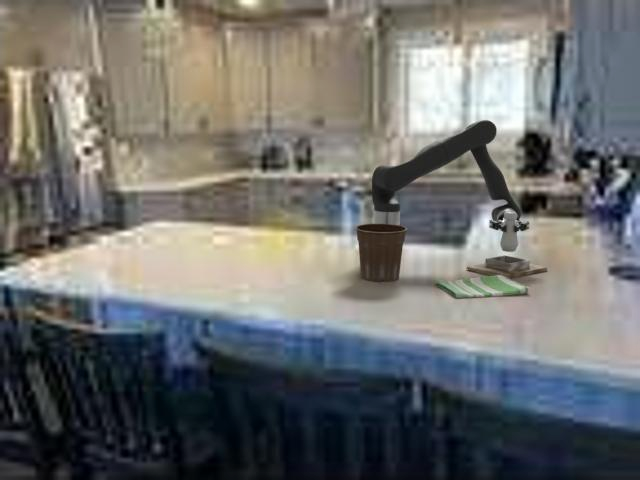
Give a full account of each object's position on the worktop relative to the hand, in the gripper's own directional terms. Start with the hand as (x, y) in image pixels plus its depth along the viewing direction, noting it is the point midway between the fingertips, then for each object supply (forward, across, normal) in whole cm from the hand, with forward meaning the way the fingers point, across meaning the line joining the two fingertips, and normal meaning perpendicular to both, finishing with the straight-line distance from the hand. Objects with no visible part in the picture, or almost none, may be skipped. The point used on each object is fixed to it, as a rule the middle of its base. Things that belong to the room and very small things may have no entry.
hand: (510, 229), depth 231 cm
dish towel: (+27, -9, +15) cm, 32 cm away
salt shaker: (-3, 0, +8) cm, 8 cm away
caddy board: (-2, 0, +14) cm, 15 cm away
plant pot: (+20, -40, +14) cm, 47 cm away
